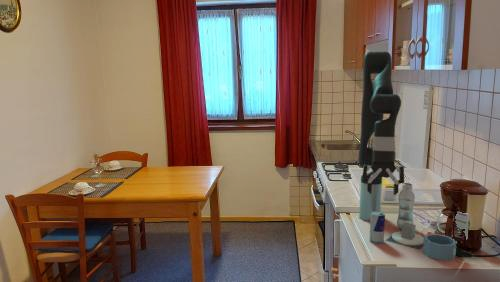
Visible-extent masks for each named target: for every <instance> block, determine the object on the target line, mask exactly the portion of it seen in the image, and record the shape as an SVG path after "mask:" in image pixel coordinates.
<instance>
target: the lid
mask: <svg viewBox="0 0 500 282" xmlns="http://www.w3.org/2000/svg"><path fill="white" fill-rule="evenodd" d="M416 226H417V225H416V224H409V223H404V224H403V225H402V229H401V231H400V230H398V231H399V232H396V231H395V232H393V233H392V234H391V235H392V239H393V240H394V241H395V242H397V243H400V244H403V245H402V246H404V245H408V246H420V245H423V241H424V237H425V236H422V235H420V234H419V233H416ZM397 243H396V244H397ZM400 244H399V245H400ZM408 246H407V247H408Z"/></svg>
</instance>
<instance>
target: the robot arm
mask: <svg viewBox="0 0 500 282" xmlns="http://www.w3.org/2000/svg"><path fill="white" fill-rule="evenodd" d="M362 61H363V64H362V65H363V66H362V67H363V69H362V70H363V72H362V74H363V75H362V76H363V82H362V83H363V87H362V102H361V115H360V116H361V119H360V120H361V121H360V123H361V125H360V139H359V140H360V141H359V149H358V160H357V161H358V165H359V167H360V168H362V175H361V177H360V191H359V192H360V194H359V212H358V213H359V214H358V218H359V219H360V220H362V221H366V222H370V219H371V212H373V211H380V212H381V211H382V209H381V206H382V188H383V187H382V186H383V178H387V179H389V178H390V179H391V181H392V182H393V188H392V189H393V192H392V193H393V196H397V194H399V185H401V184H403V183H405V168H404V166H402V165H399V166H396V165H395V155H396V154H395V153H396V142H395V141H396V140H395V139H396V138H395V134H396V133H395V132H396V122H397V118H398V115H399V112H400V109H401V106H402V99H401V97H400V96H399V95H397V94H396V93H395V94H394V89H393V88H394V87H393V83H392V71H393V69H392V65H393V63H392V56H391V54H390V53H389V52H388V51H367V52H365V54H364V55H363V60H362ZM373 74H374V75H376V74H378V75H376V77H375V78H374V79H373V81H372V75H373ZM384 115H389V116H388V117H387V118H386V119H384ZM372 136H373V143H372V146H371V147H369V146H368V144H369V142H370V139H371V137H372ZM370 169H371V170H372V171H370ZM369 171H370V172H369ZM395 171H396V172H398V174H399V176H398V177H399V179H397V178H396V176H395V175H394V172H395Z"/></svg>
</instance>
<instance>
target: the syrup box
mask: <svg viewBox="0 0 500 282" xmlns="http://www.w3.org/2000/svg"><path fill="white" fill-rule="evenodd" d="M469 216H470V215H469V214H468V213H462V212H457V214H456V216H455V219H456V224H457V225H456V226H457V227H458V228H460V229H465V231H463V232H464V233H465V236H466V240H467V239H468V231H469V230H468V229H469V226H470V219H469V218H470V217H469Z"/></svg>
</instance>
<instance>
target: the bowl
mask: <svg viewBox="0 0 500 282" xmlns="http://www.w3.org/2000/svg"><path fill="white" fill-rule="evenodd" d="M423 237H424V241H423V247H422V253H423V254H424V255H425V256H427V257H428V258H430V259H433V260H438V261H440V262H441V261H442V262H446V261H447V262H448V261H449V262H450V261H454V259H455V258H456V256H457V255H456V253H457V246H456V244H457V241H455V240H454V239H452V237H451V236H447V235H443V234H439V233H431V234H429V233H428V234H425V236H423Z"/></svg>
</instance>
